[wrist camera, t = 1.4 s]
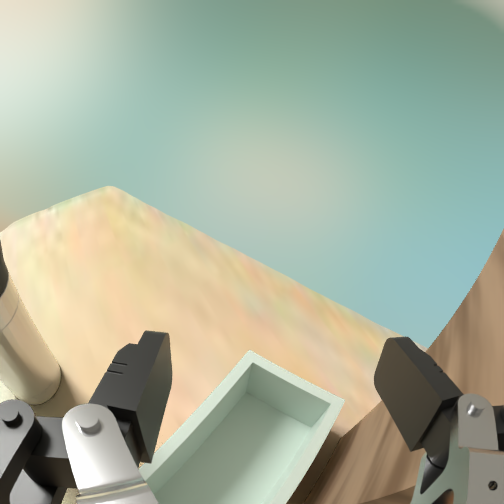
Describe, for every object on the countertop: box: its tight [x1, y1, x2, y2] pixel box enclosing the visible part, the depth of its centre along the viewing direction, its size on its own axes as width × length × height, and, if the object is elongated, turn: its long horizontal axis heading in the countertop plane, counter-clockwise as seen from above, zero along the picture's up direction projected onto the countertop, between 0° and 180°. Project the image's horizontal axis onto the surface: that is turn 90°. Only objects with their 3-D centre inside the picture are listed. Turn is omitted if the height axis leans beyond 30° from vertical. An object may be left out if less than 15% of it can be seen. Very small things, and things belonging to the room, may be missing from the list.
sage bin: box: [138, 350, 345, 504], centre depth 22 cm, size 12×27×8 cm, turn 148°
